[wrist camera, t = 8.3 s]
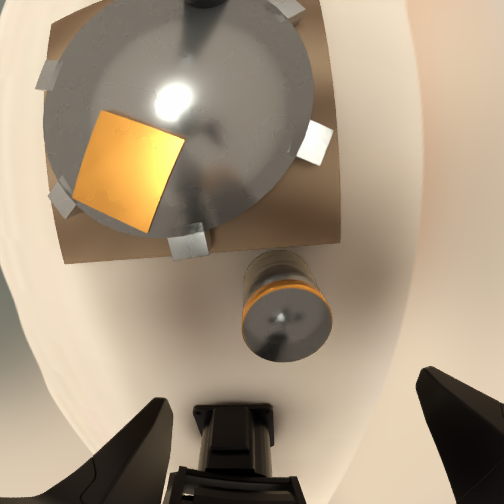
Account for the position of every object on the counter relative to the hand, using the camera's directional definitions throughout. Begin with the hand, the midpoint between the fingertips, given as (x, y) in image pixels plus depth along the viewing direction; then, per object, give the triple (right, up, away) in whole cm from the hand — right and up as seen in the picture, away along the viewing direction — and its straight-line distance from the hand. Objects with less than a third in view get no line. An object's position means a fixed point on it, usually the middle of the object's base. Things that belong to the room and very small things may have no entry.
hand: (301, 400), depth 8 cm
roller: (0, +3, +9) cm, 9 cm away
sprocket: (-6, +13, +4) cm, 15 cm away
